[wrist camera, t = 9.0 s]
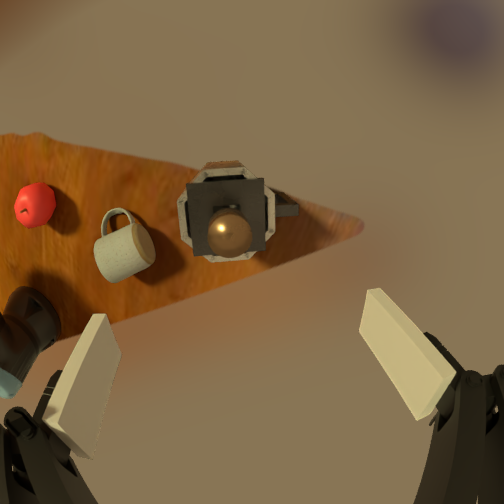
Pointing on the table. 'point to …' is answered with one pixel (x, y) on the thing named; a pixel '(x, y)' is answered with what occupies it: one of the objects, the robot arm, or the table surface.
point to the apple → (35, 205)
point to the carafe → (230, 193)
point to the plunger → (228, 228)
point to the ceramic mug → (123, 249)
